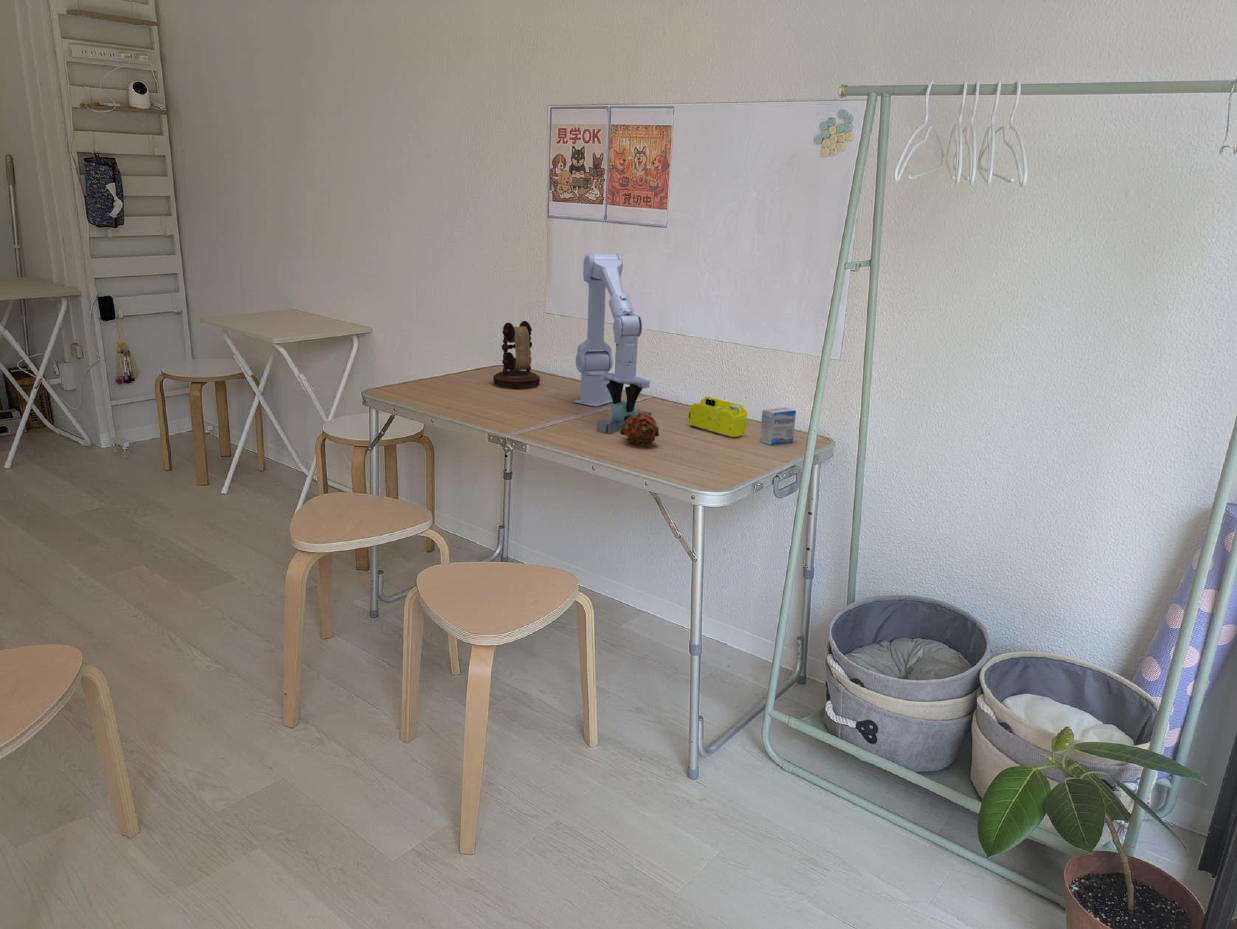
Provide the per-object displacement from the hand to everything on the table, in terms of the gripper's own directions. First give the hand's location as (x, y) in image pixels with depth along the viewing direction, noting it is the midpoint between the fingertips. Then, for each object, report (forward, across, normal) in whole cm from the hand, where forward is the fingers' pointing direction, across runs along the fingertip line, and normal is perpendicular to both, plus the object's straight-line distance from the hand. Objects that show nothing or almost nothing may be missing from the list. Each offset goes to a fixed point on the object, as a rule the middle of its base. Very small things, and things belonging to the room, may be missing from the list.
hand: (623, 410), depth 248 cm
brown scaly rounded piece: (+4, +13, -12) cm, 18 cm away
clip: (+4, 0, 0) cm, 4 cm away
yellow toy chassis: (+4, +22, +12) cm, 26 cm away
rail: (+4, 0, 0) cm, 4 cm away
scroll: (+4, -53, +18) cm, 56 cm away
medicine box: (+4, +39, +14) cm, 42 cm away
